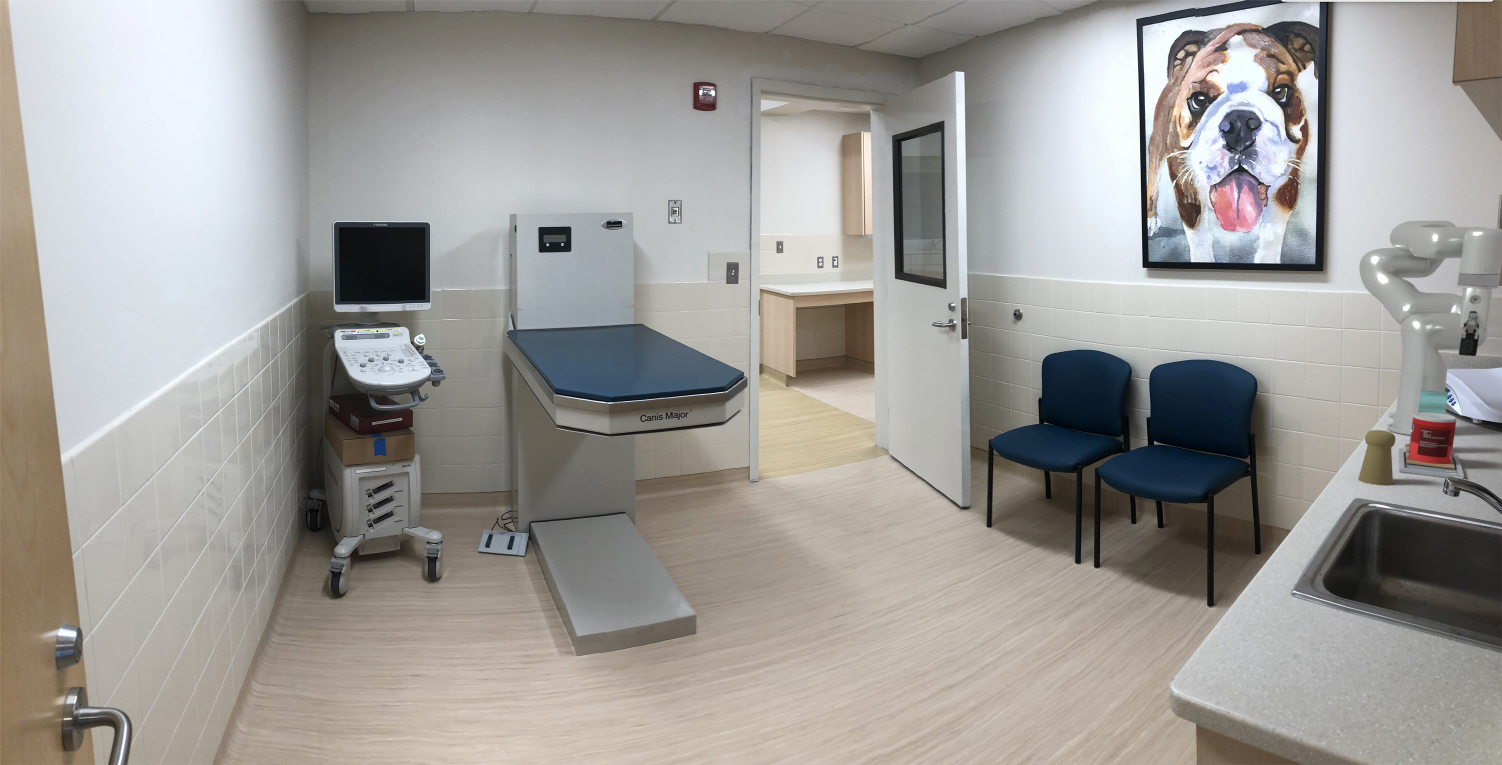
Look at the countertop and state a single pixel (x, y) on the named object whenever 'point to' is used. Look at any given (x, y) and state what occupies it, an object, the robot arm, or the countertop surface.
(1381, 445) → the cork
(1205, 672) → the countertop surface
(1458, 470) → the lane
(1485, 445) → the countertop surface
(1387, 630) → the countertop surface
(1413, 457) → the canned food
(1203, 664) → the countertop surface
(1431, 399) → the teal upright with base
